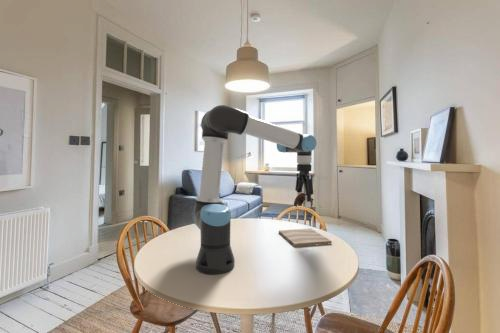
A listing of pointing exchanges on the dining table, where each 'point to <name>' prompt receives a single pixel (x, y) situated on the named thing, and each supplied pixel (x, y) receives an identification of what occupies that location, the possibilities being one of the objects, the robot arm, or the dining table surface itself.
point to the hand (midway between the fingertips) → (303, 205)
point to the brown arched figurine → (301, 200)
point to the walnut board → (303, 237)
